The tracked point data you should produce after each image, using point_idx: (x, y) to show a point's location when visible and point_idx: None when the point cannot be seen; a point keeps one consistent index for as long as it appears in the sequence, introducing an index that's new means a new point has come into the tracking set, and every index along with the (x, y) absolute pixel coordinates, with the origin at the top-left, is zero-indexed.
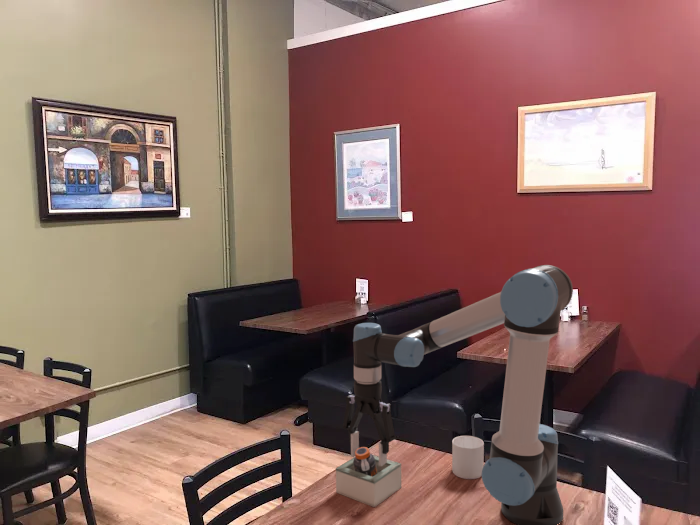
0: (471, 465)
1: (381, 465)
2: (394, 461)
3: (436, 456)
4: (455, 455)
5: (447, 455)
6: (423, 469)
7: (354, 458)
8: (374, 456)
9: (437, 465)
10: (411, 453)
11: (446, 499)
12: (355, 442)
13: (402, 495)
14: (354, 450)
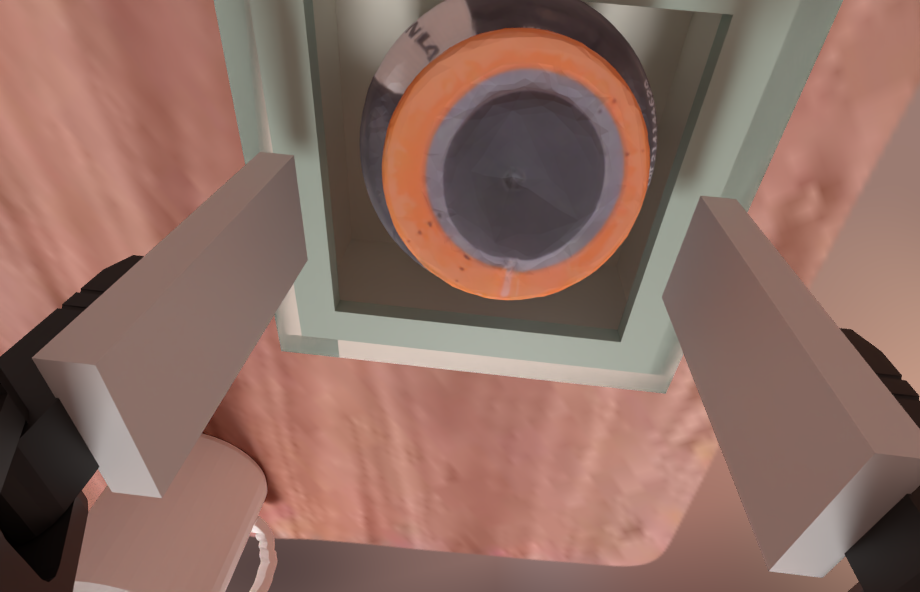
0: (105, 492)
1: (257, 160)
2: (346, 357)
3: (387, 522)
4: (165, 529)
5: (355, 537)
6: (364, 432)
7: (642, 108)
8: (539, 363)
9: (336, 474)
10: (494, 514)
11: (69, 247)
12: (743, 359)
13: None
14: (713, 262)
